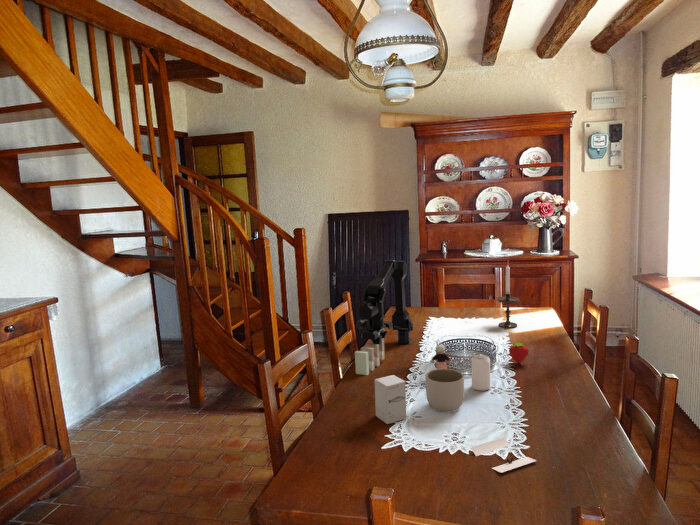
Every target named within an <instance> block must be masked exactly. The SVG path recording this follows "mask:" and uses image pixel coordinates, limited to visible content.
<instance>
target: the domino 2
mask: <svg viewBox="0 0 700 525" xmlns="http://www.w3.org/2000/svg"><path fill="white" fill-rule="evenodd" d="M370 341H371V344H373V342H372V340H371V339H370ZM379 357H380V361H384V360H385V358H386V357H385V339H384V338H382V339H381V342H380V346H379Z"/></svg>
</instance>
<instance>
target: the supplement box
mask: <svg viewBox="0 0 700 525" xmlns="http://www.w3.org/2000/svg"><path fill="white" fill-rule="evenodd" d="M406 390H407V388H406V380H404V379H402V378H400V377H398V376H397V375H395V374H392V375H387V376H383V377H378V378H375V379H374V399H375V400H374V401H375V403H374V404H375V406H374V407H375V416H376V417H377V418H378V419H379V420H381V421H382V422H384V423H385V424H387V425H389V424H392V423H395V422H398V421H402V420H406V419H407V398H406V397H407V394H406V393H407V392H406Z"/></svg>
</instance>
